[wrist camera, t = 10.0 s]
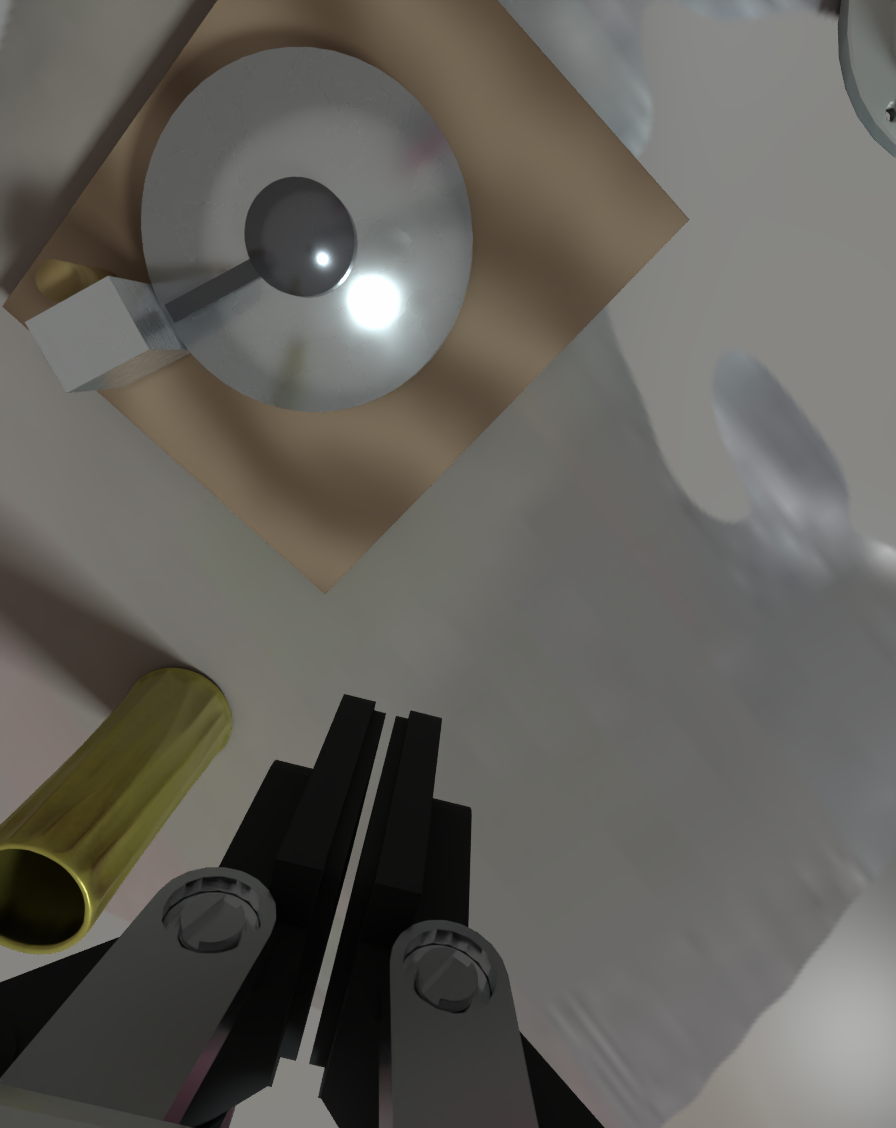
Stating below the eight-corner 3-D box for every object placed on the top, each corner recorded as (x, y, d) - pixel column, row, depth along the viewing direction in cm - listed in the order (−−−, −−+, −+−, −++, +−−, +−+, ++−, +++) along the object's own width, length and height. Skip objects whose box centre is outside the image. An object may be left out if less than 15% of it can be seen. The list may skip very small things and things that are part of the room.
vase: (106, 699, 40) (-90, 879, 26) (187, 646, 39) (25, 805, 25) (175, 778, 41) (22, 988, 28) (255, 729, 40) (137, 923, 27)
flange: (385, -8, 28) (365, -78, 23) (523, 327, 31) (530, 323, 27) (22, 207, 31) (-59, 182, 26) (184, 492, 34) (138, 513, 30)
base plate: (349, -151, 28) (318, -265, 23) (680, 225, 32) (719, 200, 26) (22, 308, 34) (-62, 300, 29) (331, 584, 37) (305, 623, 32)
